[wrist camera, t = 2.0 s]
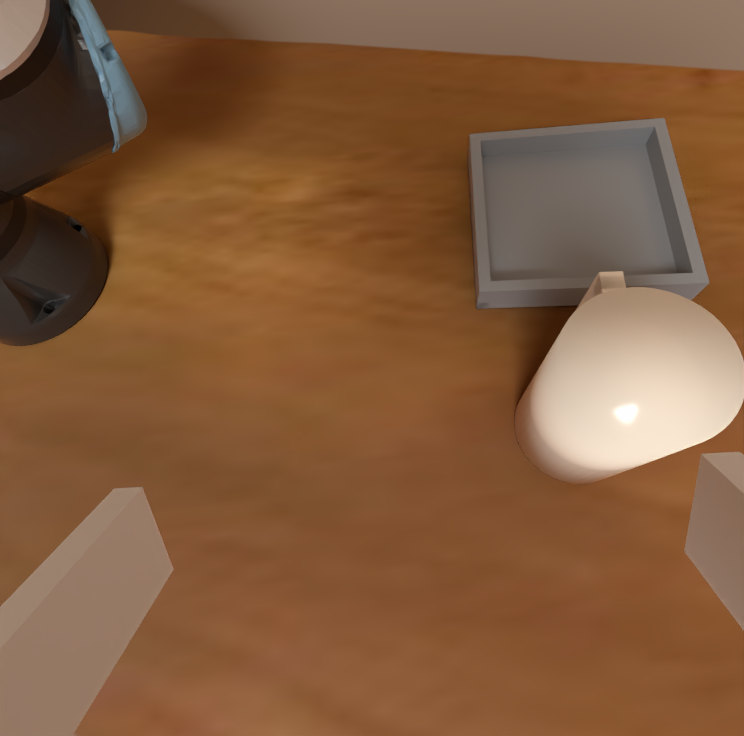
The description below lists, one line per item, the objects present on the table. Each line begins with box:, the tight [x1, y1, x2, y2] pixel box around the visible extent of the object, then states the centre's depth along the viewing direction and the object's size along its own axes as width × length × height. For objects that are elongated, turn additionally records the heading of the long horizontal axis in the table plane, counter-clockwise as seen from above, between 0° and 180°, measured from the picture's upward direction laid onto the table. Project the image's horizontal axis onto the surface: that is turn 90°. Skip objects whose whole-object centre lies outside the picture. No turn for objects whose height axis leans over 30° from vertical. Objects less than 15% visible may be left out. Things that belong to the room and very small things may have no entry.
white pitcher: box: [514, 271, 744, 484], centre depth 30 cm, size 9×12×14 cm
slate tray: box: [468, 118, 709, 309], centre depth 42 cm, size 18×18×3 cm
